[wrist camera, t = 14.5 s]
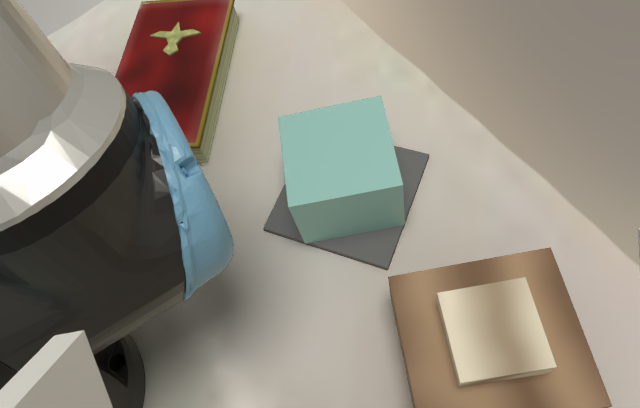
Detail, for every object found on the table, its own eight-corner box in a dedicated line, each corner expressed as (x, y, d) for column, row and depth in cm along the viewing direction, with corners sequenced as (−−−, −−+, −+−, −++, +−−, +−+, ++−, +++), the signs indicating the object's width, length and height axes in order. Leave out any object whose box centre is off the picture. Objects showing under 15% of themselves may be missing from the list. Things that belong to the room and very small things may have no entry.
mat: (264, 230, 48) (263, 228, 47) (313, 129, 52) (313, 126, 52) (387, 270, 44) (387, 267, 44) (428, 157, 49) (429, 154, 48)
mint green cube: (304, 243, 46) (288, 207, 40) (294, 161, 50) (278, 117, 44) (404, 225, 45) (403, 184, 39) (385, 143, 50) (381, 95, 44)
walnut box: (420, 441, 37) (421, 433, 31) (391, 297, 43) (387, 267, 37) (588, 415, 36) (623, 401, 30) (536, 271, 42) (557, 236, 36)
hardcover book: (106, 169, 55) (84, 146, 51) (152, 27, 65) (137, 0, 61) (212, 167, 53) (197, 144, 49) (243, 21, 63) (233, -8, 59)
